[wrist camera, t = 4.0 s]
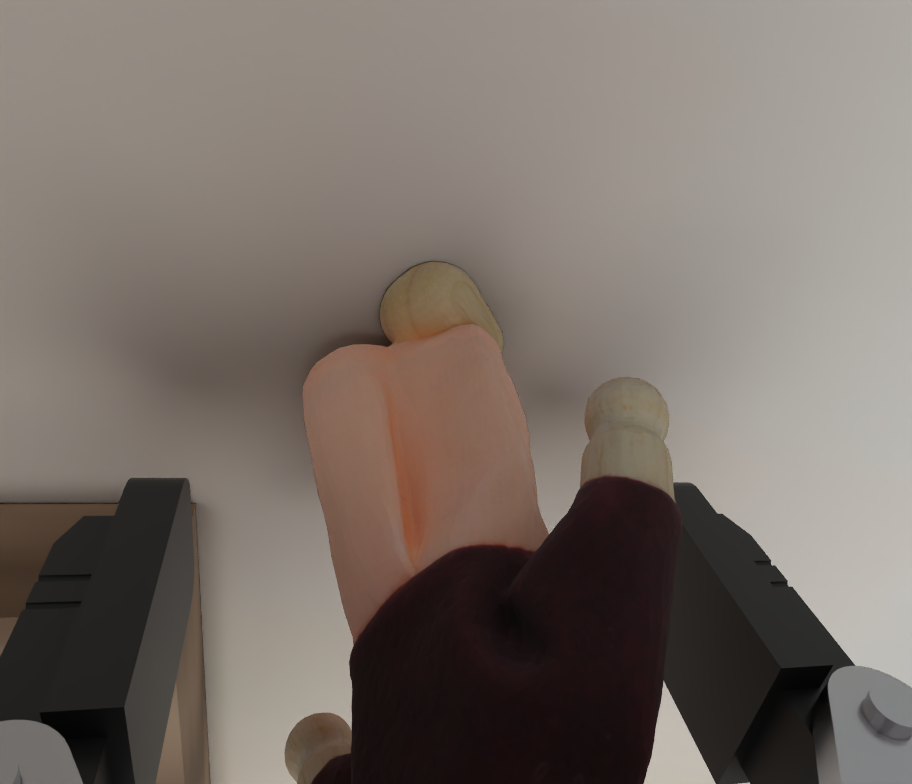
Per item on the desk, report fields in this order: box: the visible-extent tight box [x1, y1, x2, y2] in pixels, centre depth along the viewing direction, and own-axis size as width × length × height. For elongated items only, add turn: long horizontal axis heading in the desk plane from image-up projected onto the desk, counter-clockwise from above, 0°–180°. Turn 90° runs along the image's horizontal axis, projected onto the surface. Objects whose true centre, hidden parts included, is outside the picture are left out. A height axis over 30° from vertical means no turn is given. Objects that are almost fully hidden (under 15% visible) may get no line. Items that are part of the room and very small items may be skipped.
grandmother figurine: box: [285, 262, 683, 784], centre depth 9 cm, size 8×4×13 cm, turn 153°
